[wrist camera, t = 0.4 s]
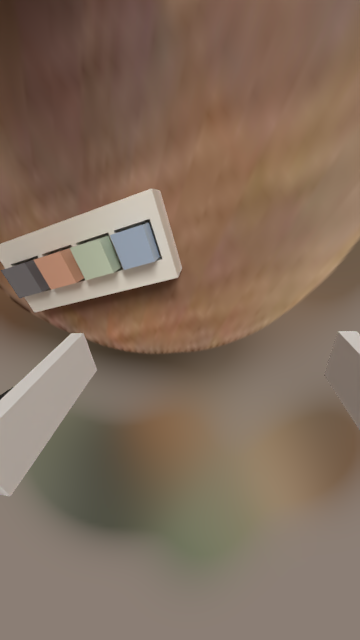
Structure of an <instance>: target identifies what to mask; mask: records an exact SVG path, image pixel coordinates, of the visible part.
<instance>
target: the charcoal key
mask: <svg viewBox="0 0 360 640" xmlns="http://www.w3.org/2000/svg"><path fill="white" fill-rule="evenodd" d="M1 271H2V273H3V274H4V276H5V277H6V279H7V280H8V282H9V283H10V285H11V286H12V288H13V289H14V291H15V292H16V294H17V295H18V297H19V298H22V297H26V296H30V295H34V294H37V293H41V292H44V291H45V290H47V289H49V288H50V287H49V286H48V284H47V282H46V280H45V279H44V277H43V275H42V274H41V272H40V270H39V269H38V267H37V265H36V264H35V262H34V260H32V261H28V262H25V263H22V264H19V265H16V266H13V267H10V268H7V269H4V270H1Z"/></svg>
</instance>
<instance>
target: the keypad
mask: <svg viewBox="0 0 360 640" xmlns="http://www.w3.org/2000/svg"><path fill="white" fill-rule="evenodd" d="M146 223H149V224H150V227H151V231H152V234H153V237H154V240H155V243H156V246H157V249H158V252H159V255H160V257H159V258H158V259H157V260H156V261H155V262H152V263H148V264H144V265H140V266H137V267H133V268H129V269H126V270H124V269H123V266H122V264H121V261H120V259H119V256H118V254H117V252H116V249H115V247H114V244H113V242H112V239H111V237H110V235H112V234H115V233H118V232H121V231H124V230H127V229H130V228H133V227H136V226H140V225H143V224H146ZM106 236H109V238H110V241H111V243H112V246H113V248H114V251H115V253H116V255H117V258H118V260H119V263H120V265H121V268H120V269H118V270H117V271H115V272H114V273H111V274H107V275H104V276H100V277H96V278H93V279H89V280H85V278H84V279H82V280H80V281H79V282H77V283H74V284H70V285H67V286H63V287H59V288H56V289H52V290H51V289H50V288H49V289H47V290H45V291H44V292H41V293H37V294H34V295H30V296H26V297H25V299H26V300H27V302H28V303H29V305H30V306H31V308H32V309H33V311H34V312H39V311H43V310H47V309H51V308H55V307H59V306H63V305H68V304H72V303H76V302H80V301H84V300H88V299H92V298H96V297H100V296H104V295H109V294H113V293H117V292H121V291H125V290H129V289H133V288H137V287H141V286H146V285H150V284H154V283H158V282H162V281H166V280H170V279H174V278H178V277H179V274H180V272H181V270H182V266H181V263H180V259H179V256H178V252H177V249H176V245H175V242H174V238H173V234H172V231H171V227H170V224H169V220H168V217H167V213H166V210H165V206H164V203H163V199H162V196H161V192H160V190H156V189H149V190H146V191H144V192H141V193H138V194H135V195H133V196H130V197H127V198H124V199H122V200H119V201H116V202H114V203H111V204H108V205H105V206H103V207H100V208H97V209H94V210H92V211H89V212H86V213H84V214H81V215H78V216H75V217H73V218H70V219H67V220H64V221H62V222H59V223H56V224H53V225H51V226H48V227H45V228H43V229H40V230H37V231H34V232H32V233H29V234H26V235H23V236H21V237H18V238H15V239H13V240H10V241H7V242H4V243H2V244H0V261H1V263H2V264H3V266H4V267H5V269H7V268H10V267H13V266H16V265H19V264H22V263H25V262H28V261H32V260H35V259H38V258H41V257H44V256H47V255H50V254H53V253H56V252H59V251H62V250H65V249H69V248H72V247H75V246H78V245H81V244H84V243H87V242H90V241H93V240H96V239H99V238H103V237H106Z"/></svg>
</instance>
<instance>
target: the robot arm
mask: <svg viewBox="0 0 360 640" xmlns="http://www.w3.org/2000/svg"><path fill="white" fill-rule="evenodd" d="M96 371H97V369H96V366H95V363H94V360H93V358H92V355H91V353H90V350H89V347H88V344H87V341H86V339H85V336H84V333H71V334H70V335H69V336H68V337H67V338H66V339H65V340H64V341H63V342H62V343H61V344H60V345H58V346H57V348H55V349H54V350H53V351H52V352H51V353H50V354H49V355H48V356H47V357H46V358H44V359H43V360H42V361H41V362H40V363H39V364H38V365H37V366H36V367H35V368H34V369H33V370H32V371H31V372H30V373H28V375H26V376H25V377H24V378H23V379H22V380H21V381H20V382H19V383H18V384H17V385H16V386H15V387H12V388H11V389H9V390H8V391H6V392H5V393H3V394H2V395H0V495H5V496H11V495H12V493H13V492H14V490H15V489H16V487H17V486H18V484H19V483H20V481H21V480H22V478H23V477H24V476H25V474H26V473H27V471H28V470H29V468H30V467H31V465H32V464H33V463H34V461H35V460H36V458H37V457H38V455H39V454H40V452H41V451H42V449H43V448H44V447H45V445H46V444H47V442H48V441H49V439H50V438H51V436H52V435H53V433H54V432H55V430H56V429H57V428H58V426H59V425H60V423H61V422H62V420H63V419H64V417H65V416H66V414H67V413H68V411H69V410H70V408H71V407H72V406H73V404H74V403H75V401H76V400H77V398H78V397H79V396H80V394H81V393H82V391H83V390H84V388H85V387H86V385H87V384H88V382H89V381H90V379H91V378H92V376H93V375H94V374H95V372H96ZM324 376H325V377H326V379H327V380H328V382H329V383H330V385H331V386H332V388H333V390H334V391H335V393H336V394H337V396H338V397H339V399H340V401H341V402H342V404H343V405H344V407H345V408H346V410H347V412H348V413H349V415H350V416H351V418H352V419H353V421H354V422H355V424H356V426H357V427H358V429H359V430H360V334H359V333H358V332H356V331H338V332H337V336H336V339H335V342H334V345H333V349H332V352H331V355H330V358H329V362H328V365H327V368H326V371H325V375H324Z"/></svg>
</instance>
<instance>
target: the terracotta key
mask: <svg viewBox="0 0 360 640" xmlns="http://www.w3.org/2000/svg"><path fill="white" fill-rule="evenodd" d="M34 262H35V264H36V265H37V267H38V269H39V270H40V272H41V274H42V275H43V277H44V279H45V280H46V282H47V284H48V286H49V287H50V289H51V290H52V289H56V288H59V287H63V286H67V285H70V284H74V283H77V282H79V281H80V280H82V279H84V276H83V274H82V272H81V270H80V268H79V266H78V264H77V262H76V260H75V258H74V256H73V254H72V252H71V250H70V248H69V249H65V250H62V251H59V252H56V253H53V254H50V255H47V256H44V257H41V258H38V259H35V260H34Z"/></svg>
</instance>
